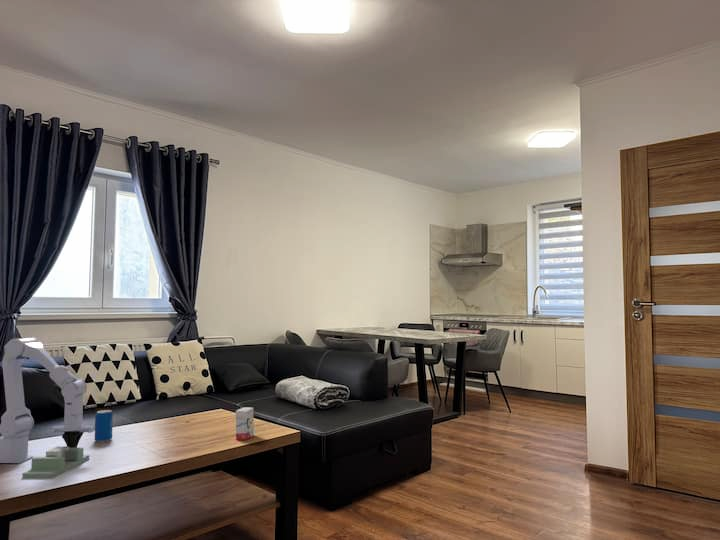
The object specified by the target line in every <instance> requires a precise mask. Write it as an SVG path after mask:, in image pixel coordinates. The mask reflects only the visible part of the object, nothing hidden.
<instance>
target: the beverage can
mask: <svg viewBox="0 0 720 540" xmlns="http://www.w3.org/2000/svg"><path fill="white" fill-rule="evenodd" d="M112 411H113V410H111V409H101V410H98V411H96V414H95V416H94V417H95V418H94V419H95V420H94V441H95V442H96V443H107V442H109V441H111V440H112V439H113V421H114V420H113V419H114V418H113V417H114V413H113V412H112Z"/></svg>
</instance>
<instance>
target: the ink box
mask: <svg viewBox="0 0 720 540" xmlns="http://www.w3.org/2000/svg"><path fill="white" fill-rule="evenodd" d="M254 412H255V411H254V407H248V406H247V407H246V406H245V407H242V408H239V409H237V410H235V440H237V441H241V440H242V441H246V440H248V439H250V438H252V436H255V435H254V434H255V432H254V429H255V427H254V421H255V420H254V418H255V417H254Z"/></svg>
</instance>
